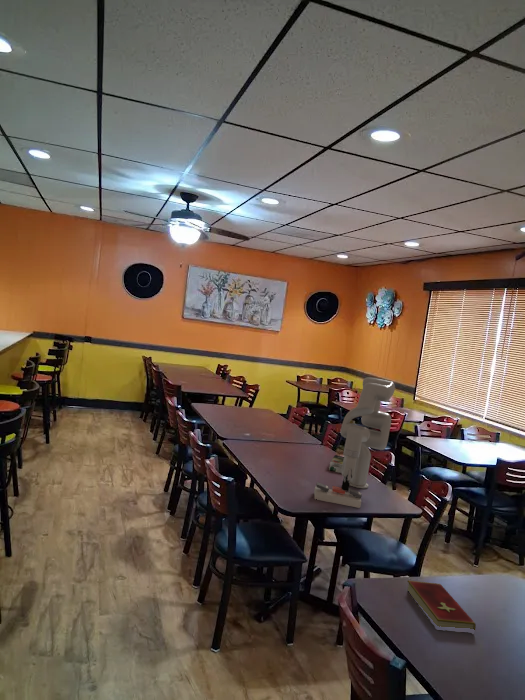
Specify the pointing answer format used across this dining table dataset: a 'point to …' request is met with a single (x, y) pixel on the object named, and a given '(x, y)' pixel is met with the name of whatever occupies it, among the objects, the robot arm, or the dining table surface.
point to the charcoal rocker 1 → (322, 486)
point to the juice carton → (336, 463)
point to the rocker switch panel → (337, 497)
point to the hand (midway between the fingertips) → (344, 489)
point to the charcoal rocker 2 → (355, 493)
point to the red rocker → (338, 489)
